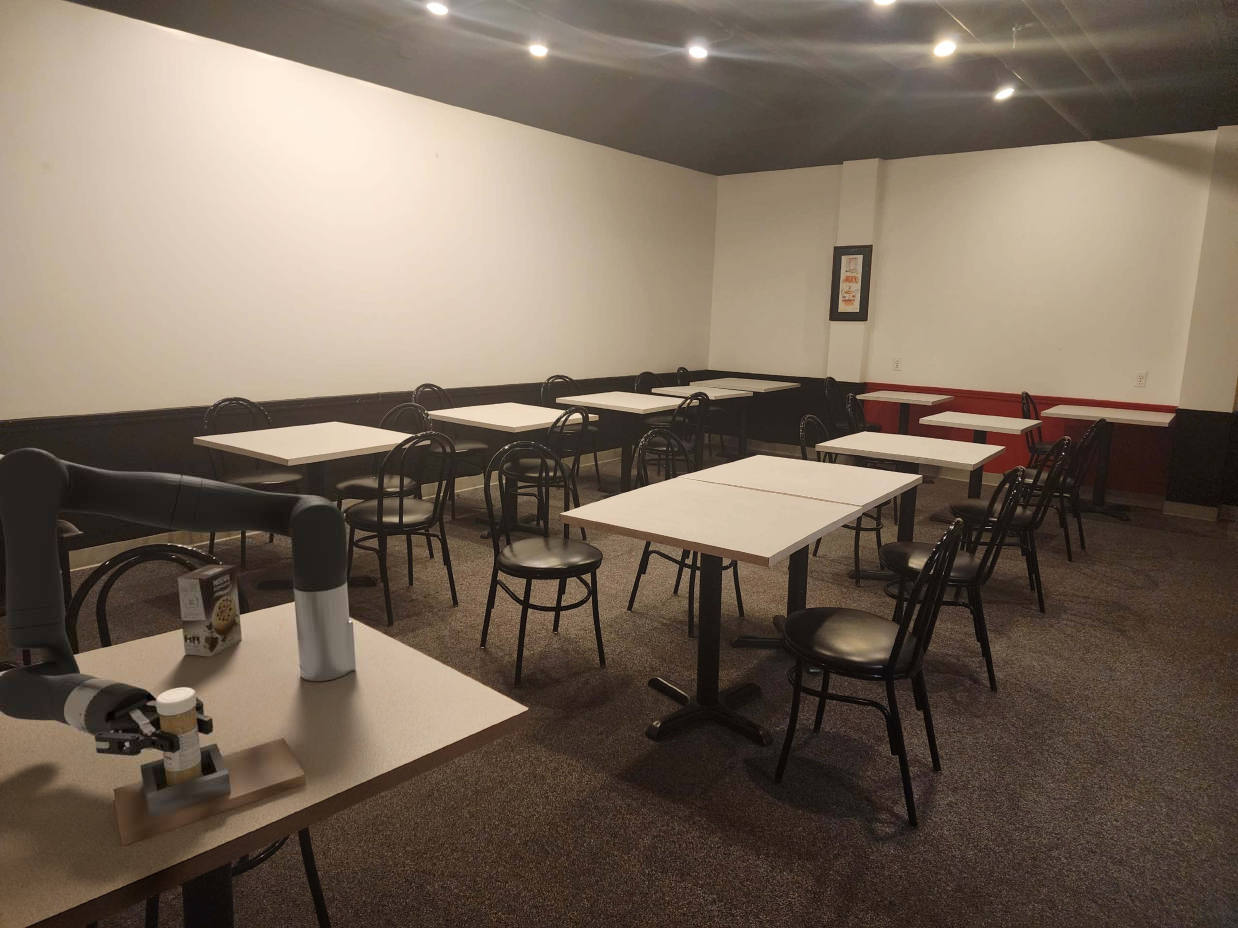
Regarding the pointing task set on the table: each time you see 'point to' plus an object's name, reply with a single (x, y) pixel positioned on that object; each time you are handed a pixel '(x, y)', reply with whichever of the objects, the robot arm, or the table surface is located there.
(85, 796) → the table surface
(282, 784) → the board
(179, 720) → the sprinkles bottle
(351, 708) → the table surface
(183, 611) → the cookie box
